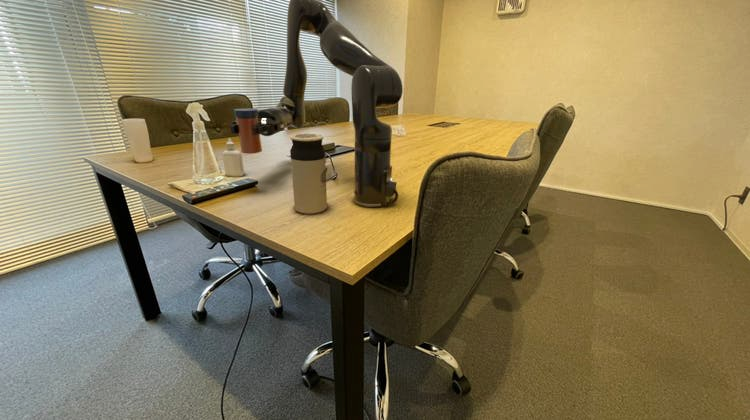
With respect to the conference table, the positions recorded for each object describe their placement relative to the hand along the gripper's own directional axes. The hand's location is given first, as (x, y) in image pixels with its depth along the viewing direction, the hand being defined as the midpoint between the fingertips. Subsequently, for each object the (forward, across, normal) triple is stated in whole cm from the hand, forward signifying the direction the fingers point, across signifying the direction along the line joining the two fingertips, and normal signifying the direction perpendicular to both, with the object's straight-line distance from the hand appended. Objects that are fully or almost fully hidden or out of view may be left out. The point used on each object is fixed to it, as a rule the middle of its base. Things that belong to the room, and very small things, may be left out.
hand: (243, 130), depth 77 cm
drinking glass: (-26, -55, +18) cm, 63 cm away
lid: (-3, 0, -4) cm, 5 cm away
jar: (-3, 0, +6) cm, 7 cm away
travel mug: (+7, +19, +18) cm, 27 cm away
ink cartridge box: (-14, +14, +18) cm, 27 cm away
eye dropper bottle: (-16, -14, +18) cm, 28 cm away
